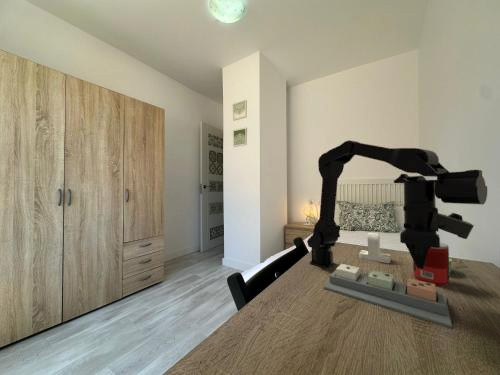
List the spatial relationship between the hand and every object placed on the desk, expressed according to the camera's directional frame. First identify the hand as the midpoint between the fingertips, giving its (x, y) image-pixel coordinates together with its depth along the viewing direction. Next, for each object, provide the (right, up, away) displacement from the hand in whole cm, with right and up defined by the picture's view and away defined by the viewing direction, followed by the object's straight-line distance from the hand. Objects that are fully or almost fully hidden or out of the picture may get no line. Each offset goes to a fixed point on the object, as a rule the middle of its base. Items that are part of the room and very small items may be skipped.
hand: (420, 268), depth 48 cm
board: (-6, -9, +5) cm, 12 cm away
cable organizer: (+8, -9, +31) cm, 33 cm away
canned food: (+13, -9, +12) cm, 20 cm away
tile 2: (-6, -6, +5) cm, 10 cm away
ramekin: (+21, -9, +20) cm, 30 cm away
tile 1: (-12, -6, +10) cm, 17 cm away
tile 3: (0, -6, 0) cm, 6 cm away
